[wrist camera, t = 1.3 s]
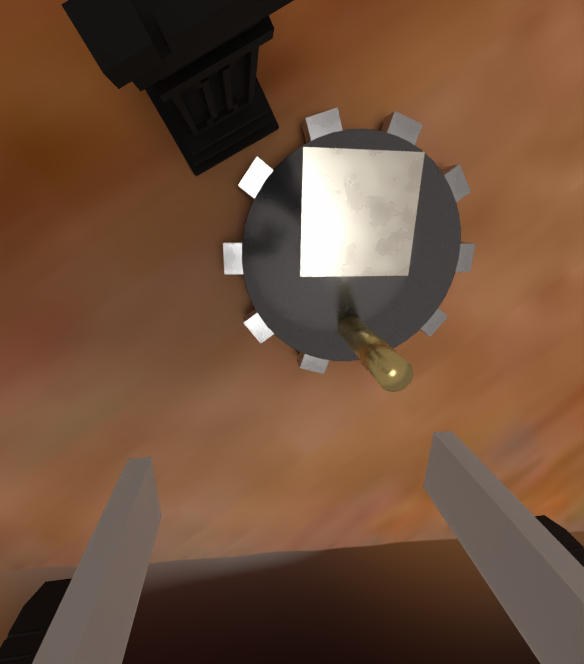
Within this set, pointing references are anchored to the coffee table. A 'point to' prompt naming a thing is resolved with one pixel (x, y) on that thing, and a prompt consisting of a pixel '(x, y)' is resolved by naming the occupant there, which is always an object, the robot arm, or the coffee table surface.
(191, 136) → the chess piece
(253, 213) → the sprocket
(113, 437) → the coffee table surface
